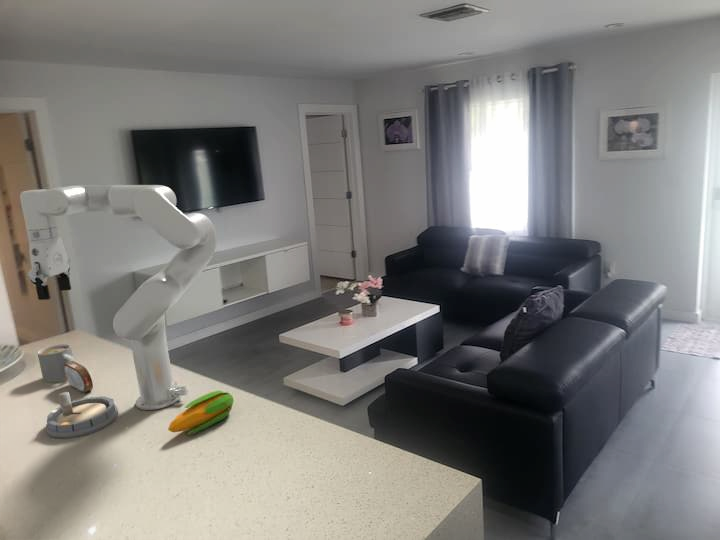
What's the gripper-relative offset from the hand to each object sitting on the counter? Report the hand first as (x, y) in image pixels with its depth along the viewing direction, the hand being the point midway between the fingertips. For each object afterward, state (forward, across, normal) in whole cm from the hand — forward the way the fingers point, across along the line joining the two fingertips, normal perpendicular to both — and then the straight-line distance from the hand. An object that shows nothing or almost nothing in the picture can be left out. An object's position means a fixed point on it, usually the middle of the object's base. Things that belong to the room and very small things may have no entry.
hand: (55, 294), depth 156 cm
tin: (+35, +13, +7) cm, 38 cm away
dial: (+33, -9, -7) cm, 35 cm away
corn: (+34, -14, -44) cm, 57 cm away
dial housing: (+34, -10, -8) cm, 37 cm away
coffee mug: (+35, +23, +19) cm, 46 cm away
